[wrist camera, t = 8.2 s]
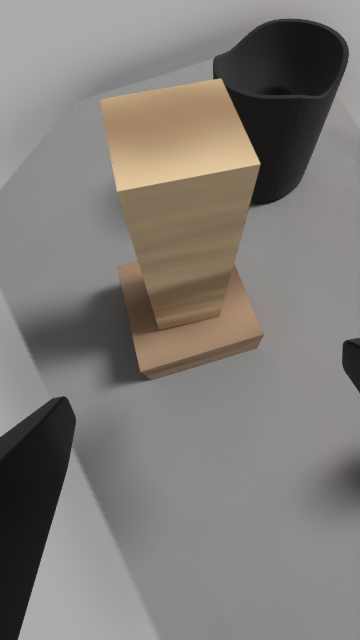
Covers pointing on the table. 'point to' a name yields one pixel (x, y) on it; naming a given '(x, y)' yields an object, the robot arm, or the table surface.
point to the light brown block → (187, 328)
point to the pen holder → (283, 95)
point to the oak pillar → (182, 192)
